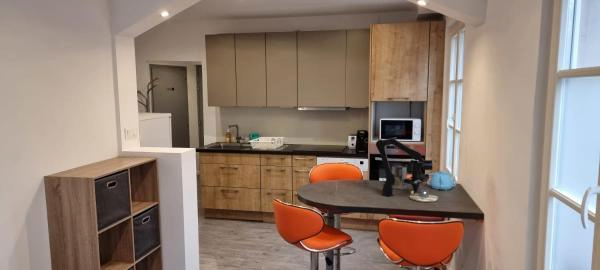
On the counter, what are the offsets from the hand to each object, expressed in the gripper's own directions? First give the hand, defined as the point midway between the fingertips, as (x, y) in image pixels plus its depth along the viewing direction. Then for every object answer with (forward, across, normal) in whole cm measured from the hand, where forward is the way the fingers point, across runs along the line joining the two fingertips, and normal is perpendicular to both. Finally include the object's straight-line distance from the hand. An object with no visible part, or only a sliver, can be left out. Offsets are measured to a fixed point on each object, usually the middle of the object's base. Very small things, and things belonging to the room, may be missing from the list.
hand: (415, 192), depth 271 cm
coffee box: (+4, +12, +25) cm, 28 cm away
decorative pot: (+4, +35, +5) cm, 36 cm away
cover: (+2, 0, -7) cm, 7 cm away
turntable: (+4, 0, -6) cm, 7 cm away
